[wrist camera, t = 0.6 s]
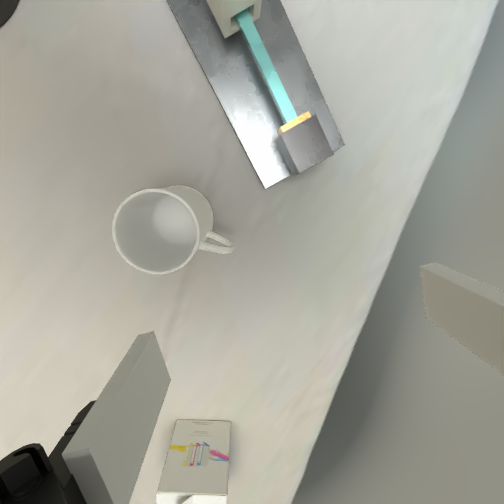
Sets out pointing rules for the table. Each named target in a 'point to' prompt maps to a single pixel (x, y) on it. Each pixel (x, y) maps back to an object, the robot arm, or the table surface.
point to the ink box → (196, 464)
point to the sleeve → (233, 13)
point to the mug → (165, 229)
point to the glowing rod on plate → (263, 87)
